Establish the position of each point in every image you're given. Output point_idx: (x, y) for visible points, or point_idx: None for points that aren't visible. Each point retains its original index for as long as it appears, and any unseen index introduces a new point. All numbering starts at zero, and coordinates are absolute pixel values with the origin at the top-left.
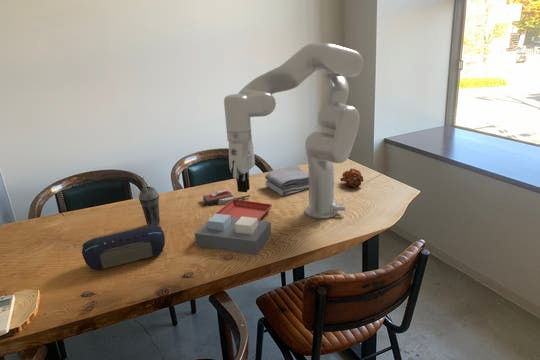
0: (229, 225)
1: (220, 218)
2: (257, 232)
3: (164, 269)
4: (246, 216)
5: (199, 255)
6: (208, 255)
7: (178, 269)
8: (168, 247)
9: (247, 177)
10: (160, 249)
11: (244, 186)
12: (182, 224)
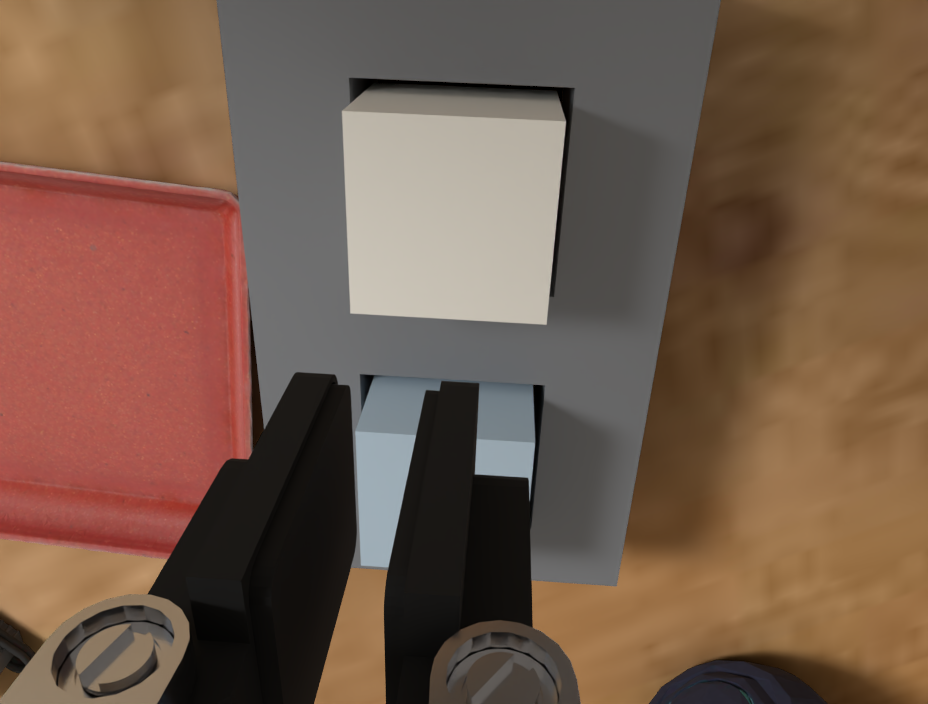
0: (415, 384)
1: None
2: (508, 46)
3: (910, 573)
4: (48, 323)
5: (724, 445)
6: (720, 388)
7: (914, 501)
8: (639, 646)
9: (187, 632)
10: (794, 686)
11: (471, 508)
12: (334, 678)
